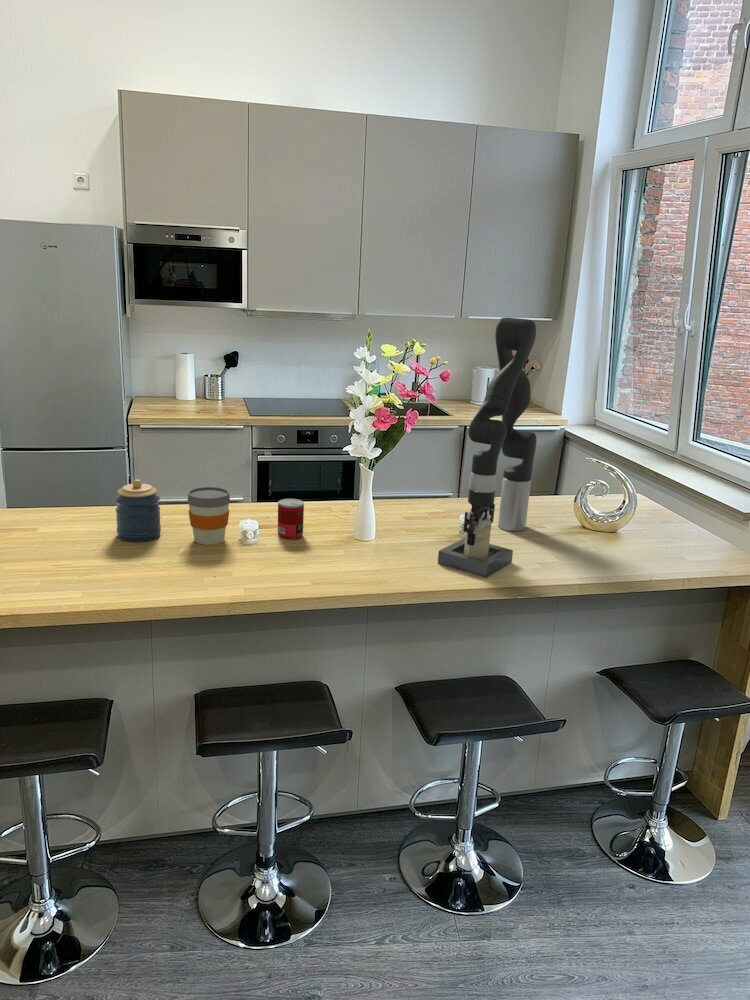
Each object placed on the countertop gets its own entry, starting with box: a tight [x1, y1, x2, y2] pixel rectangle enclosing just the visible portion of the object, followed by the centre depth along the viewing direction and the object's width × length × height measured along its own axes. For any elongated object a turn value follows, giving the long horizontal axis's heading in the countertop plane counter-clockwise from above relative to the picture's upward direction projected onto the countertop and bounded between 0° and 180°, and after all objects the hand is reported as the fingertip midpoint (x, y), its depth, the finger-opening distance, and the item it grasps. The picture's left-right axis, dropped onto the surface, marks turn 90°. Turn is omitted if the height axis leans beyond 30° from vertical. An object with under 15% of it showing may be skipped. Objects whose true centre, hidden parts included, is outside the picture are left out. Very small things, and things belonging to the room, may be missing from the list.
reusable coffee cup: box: [187, 486, 231, 546], centre depth 235 cm, size 12×13×15 cm
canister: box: [114, 479, 162, 543], centre depth 235 cm, size 13×13×18 cm
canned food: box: [277, 498, 305, 540], centre depth 243 cm, size 8×8×11 cm
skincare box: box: [464, 519, 493, 560], centre depth 227 cm, size 6×4×12 cm
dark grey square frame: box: [437, 537, 514, 579], centre depth 229 cm, size 16×16×4 cm
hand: (477, 541), depth 228 cm, fingers closed on skincare box, 7 cm apart
